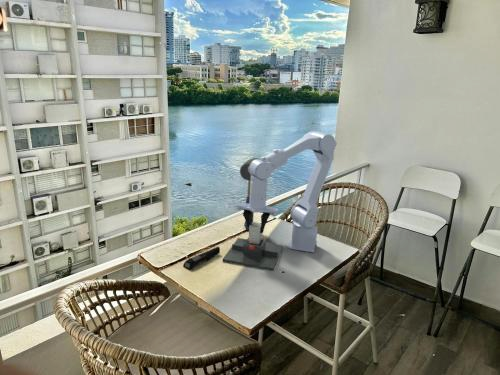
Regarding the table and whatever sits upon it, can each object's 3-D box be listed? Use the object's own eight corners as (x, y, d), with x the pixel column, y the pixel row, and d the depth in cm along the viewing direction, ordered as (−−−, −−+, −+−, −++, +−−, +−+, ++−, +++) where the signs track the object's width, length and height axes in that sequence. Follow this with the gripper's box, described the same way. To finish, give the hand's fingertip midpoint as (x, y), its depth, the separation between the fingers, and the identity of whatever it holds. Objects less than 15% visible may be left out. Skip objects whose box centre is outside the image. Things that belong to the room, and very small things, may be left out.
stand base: (283, 247, 136) (284, 235, 135) (273, 271, 120) (274, 257, 118) (238, 240, 141) (238, 228, 139) (222, 261, 124) (222, 248, 123)
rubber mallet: (244, 222, 158) (248, 155, 149) (261, 224, 156) (265, 157, 147) (235, 233, 147) (238, 161, 138) (253, 236, 145) (257, 163, 136)
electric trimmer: (222, 255, 129) (222, 247, 128) (189, 271, 117) (190, 262, 116) (215, 252, 131) (215, 244, 130) (182, 267, 119) (182, 258, 119)
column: (261, 243, 131) (263, 223, 128) (258, 248, 127) (260, 227, 124) (251, 242, 131) (252, 221, 129) (248, 246, 128) (249, 225, 125)
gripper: (234, 195, 122) (232, 232, 126) (276, 201, 118) (273, 238, 122) (240, 189, 128) (238, 224, 132) (280, 194, 125) (277, 230, 129)
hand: (255, 231), depth 128 cm, fingers closed on column, 4 cm apart
